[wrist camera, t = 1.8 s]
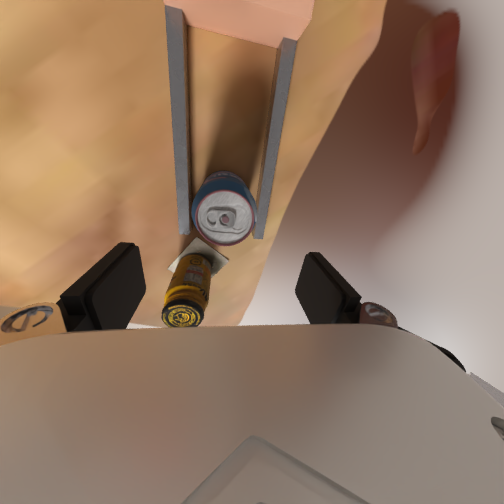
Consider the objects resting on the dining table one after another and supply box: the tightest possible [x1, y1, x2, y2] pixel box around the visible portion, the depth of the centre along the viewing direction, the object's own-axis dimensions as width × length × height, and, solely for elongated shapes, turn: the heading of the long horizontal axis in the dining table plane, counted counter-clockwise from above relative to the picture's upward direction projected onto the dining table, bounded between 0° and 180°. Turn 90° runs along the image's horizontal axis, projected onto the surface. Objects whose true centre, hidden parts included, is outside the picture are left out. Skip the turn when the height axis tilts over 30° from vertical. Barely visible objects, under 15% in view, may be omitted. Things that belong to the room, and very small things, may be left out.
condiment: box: [161, 237, 229, 328], centre depth 29 cm, size 7×8×12 cm
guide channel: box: [165, 5, 297, 239], centre depth 24 cm, size 26×13×2 cm, turn 172°
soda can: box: [191, 171, 257, 246], centre depth 23 cm, size 7×7×12 cm
